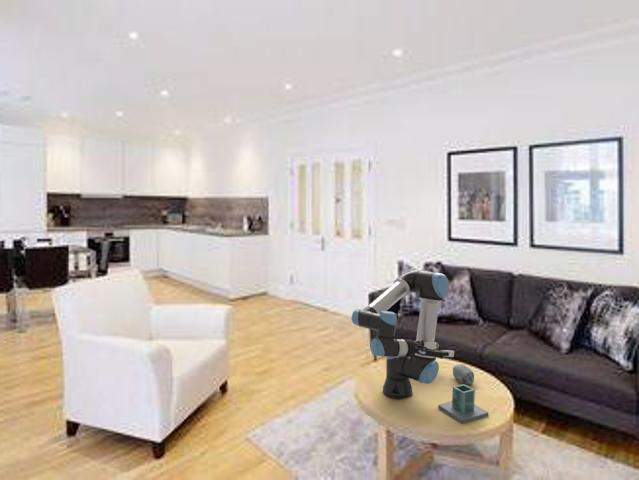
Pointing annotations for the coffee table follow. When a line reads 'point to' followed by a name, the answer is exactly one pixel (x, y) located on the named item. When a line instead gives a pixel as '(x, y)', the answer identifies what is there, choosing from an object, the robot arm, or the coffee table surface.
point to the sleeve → (463, 398)
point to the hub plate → (462, 417)
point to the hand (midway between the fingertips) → (444, 349)
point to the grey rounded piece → (463, 374)
